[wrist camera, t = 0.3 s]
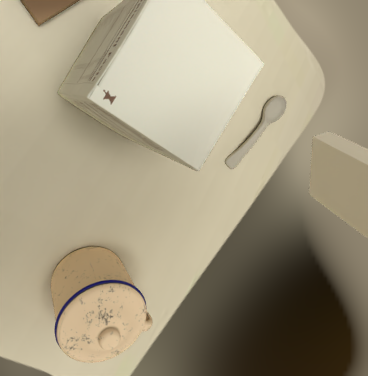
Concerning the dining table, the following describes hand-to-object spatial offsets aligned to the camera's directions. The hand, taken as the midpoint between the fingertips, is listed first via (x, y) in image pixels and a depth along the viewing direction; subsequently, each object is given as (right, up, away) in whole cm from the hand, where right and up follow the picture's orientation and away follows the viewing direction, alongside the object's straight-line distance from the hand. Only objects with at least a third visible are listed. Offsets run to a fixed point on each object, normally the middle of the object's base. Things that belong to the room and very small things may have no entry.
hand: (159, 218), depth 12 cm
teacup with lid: (-10, -11, +29) cm, 33 cm away
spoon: (+10, +9, +33) cm, 36 cm away
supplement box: (-6, +13, +23) cm, 27 cm away
